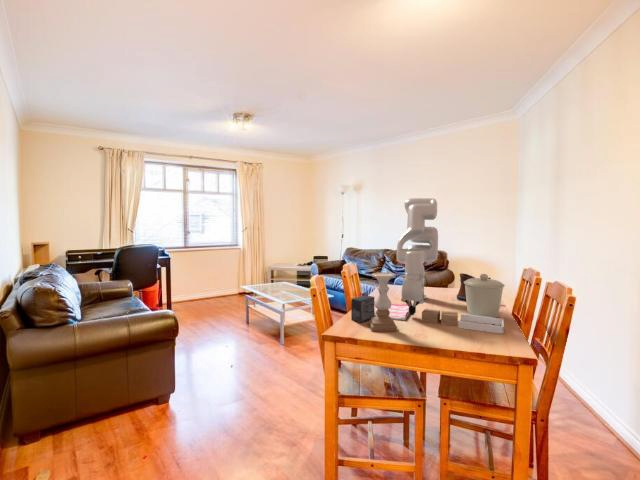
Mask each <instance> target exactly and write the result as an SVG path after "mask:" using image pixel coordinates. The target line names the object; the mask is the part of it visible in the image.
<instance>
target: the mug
mask: <svg viewBox="0 0 640 480" xmlns="http://www.w3.org/2000/svg"><path fill="white" fill-rule="evenodd" d="M459 277H460V280H459V281H460V286H459V290H458V293H457V294H456V300H458V301H459V302H466V291H465V284H464V281H466V280H468V279H471V278H476V277H475V276H473V275H470V274H468V273H461V272H460V273H459ZM488 279H492V278H491V277H489V276H488Z"/></svg>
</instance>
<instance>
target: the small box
mask: <svg viewBox="0 0 640 480" xmlns="http://www.w3.org/2000/svg"><path fill="white" fill-rule="evenodd" d="M350 302H351V304H350V305H351V310H350V311H351V317H350V319H351V321H353V322H357V323H360V324H361V323H364V322H369V320H371V317H375V315H374V310H375V296H372V295H371V296H370V295H365V294H364V295H360V296H355V297H353V298H350Z"/></svg>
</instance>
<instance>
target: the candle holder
mask: <svg viewBox="0 0 640 480" xmlns="http://www.w3.org/2000/svg"><path fill="white" fill-rule="evenodd" d="M371 277H372V278H376V280H377V281H378V287H377V290H378V296H377V298H375V300H374V308H375V309H376V308H377V310H376V314H377V316H375V317H371V319H370V320H368V326H369V328H370V331H371V332H373V333H374V332H375V333H376V332H377V333H378V332H379V333H382V332H383V333H397V332H398V326H397V324H396V323H395V320H394V319H392V318H391V317H389V316H388V315H389V314H390V311H389V310H388V309H389V308H390V307H391V303H392V302H391V300H390V298H389V296H388V293H389V290H390V287H389V286H388V284H389V283H388V282H389V281H390V279H394V278H396V273H393V272H383V271H382V272H381V271H380V272H372V274H371Z"/></svg>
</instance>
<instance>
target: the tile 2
mask: <svg viewBox="0 0 640 480" xmlns="http://www.w3.org/2000/svg"><path fill="white" fill-rule="evenodd" d="M458 315H459V314H458V311H450V310H441V311H440V324H441V325H447V326H457V327H458V323H459V320H458V317H459V316H458Z"/></svg>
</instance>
